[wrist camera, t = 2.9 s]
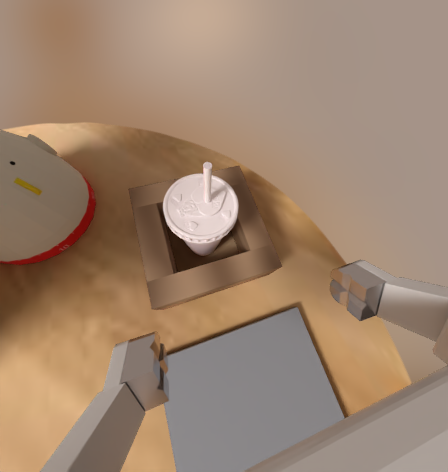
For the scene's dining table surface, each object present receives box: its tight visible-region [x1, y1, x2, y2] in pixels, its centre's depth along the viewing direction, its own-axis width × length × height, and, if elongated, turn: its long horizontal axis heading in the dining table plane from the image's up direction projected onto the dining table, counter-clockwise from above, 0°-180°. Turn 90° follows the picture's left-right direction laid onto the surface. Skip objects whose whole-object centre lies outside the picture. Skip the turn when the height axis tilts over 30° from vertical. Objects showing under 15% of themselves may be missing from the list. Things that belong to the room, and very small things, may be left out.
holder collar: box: [129, 166, 282, 310], centre depth 23 cm, size 13×13×5 cm
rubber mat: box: [164, 307, 345, 472], centre depth 19 cm, size 16×13×1 cm
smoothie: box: [163, 162, 239, 256], centre depth 19 cm, size 6×6×14 cm
